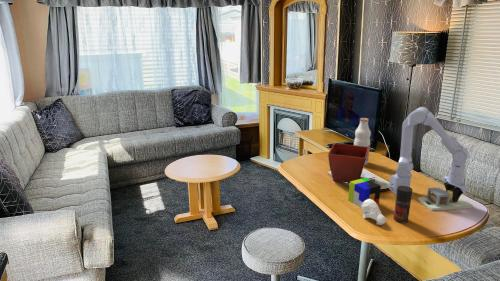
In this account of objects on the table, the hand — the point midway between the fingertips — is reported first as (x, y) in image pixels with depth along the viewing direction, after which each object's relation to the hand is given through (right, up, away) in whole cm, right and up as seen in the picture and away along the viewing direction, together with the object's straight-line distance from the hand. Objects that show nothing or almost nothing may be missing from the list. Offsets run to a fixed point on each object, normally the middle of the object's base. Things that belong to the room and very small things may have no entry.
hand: (452, 199), depth 177 cm
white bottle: (-29, +14, +51) cm, 61 cm away
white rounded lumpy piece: (-42, -7, -15) cm, 46 cm away
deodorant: (-30, -7, -14) cm, 34 cm away
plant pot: (-43, +7, +28) cm, 52 cm away
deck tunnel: (-4, -2, 0) cm, 5 cm away
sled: (-4, -1, 0) cm, 4 cm away
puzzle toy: (-42, -2, +1) cm, 42 cm away
